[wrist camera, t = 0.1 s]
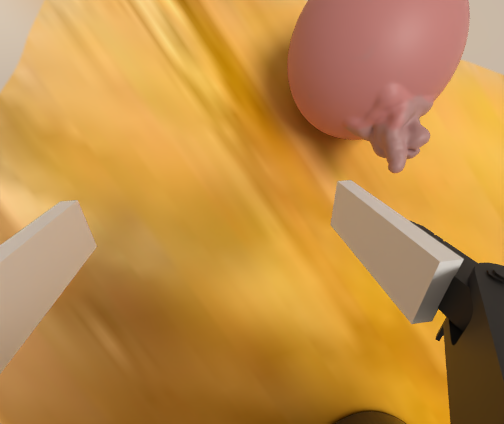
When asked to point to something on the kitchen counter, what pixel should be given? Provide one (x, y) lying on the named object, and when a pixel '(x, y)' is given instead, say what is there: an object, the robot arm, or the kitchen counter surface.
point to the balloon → (375, 68)
